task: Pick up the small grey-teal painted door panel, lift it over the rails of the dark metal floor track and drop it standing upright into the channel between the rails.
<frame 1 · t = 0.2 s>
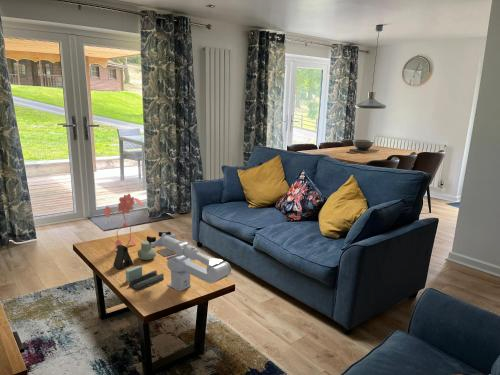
hand: (153, 236, 198), 21 cm above the table, tool horizontal, fingers open, 7 cm apart
door panel: (134, 279, 196), on the table
figurine: (128, 248, 235), on the table
phone stand: (123, 266, 211), on the table
floor track: (146, 282, 193), on the table
air freshener: (146, 258, 222), on the table
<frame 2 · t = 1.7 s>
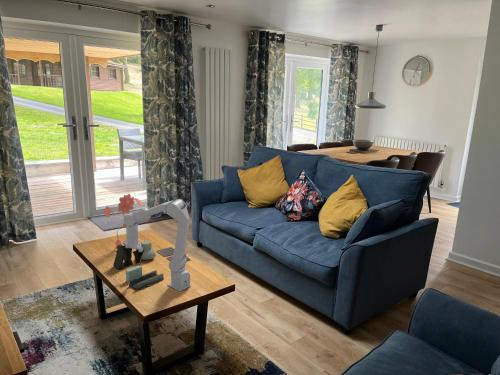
hand: (133, 261, 194), 10 cm above the table, tool pointing down, fingers open, 7 cm apart
nothing on the table moved.
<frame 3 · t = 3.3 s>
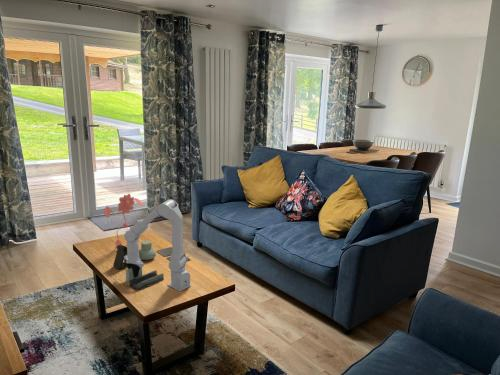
hand: (134, 275, 196), 2 cm above the table, tool pointing down, fingers closed on door panel, 2 cm apart
door panel: (134, 278, 196), on the table, touching gripper
everything else where it was.
when the fingers open (4 cm above the table, at t = 6.2 s): door panel stays where it is, resting on floor track.
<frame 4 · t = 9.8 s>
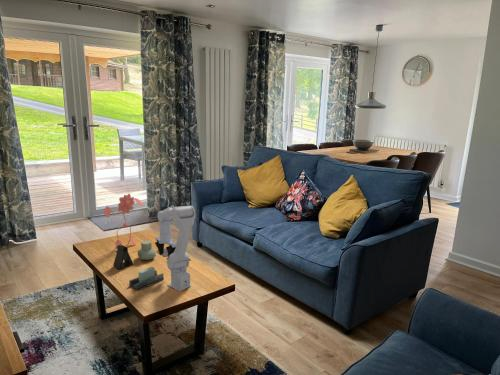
hand: (165, 256, 203), 9 cm above the table, tool pointing down, fingers open, 7 cm apart
door panel: (147, 280, 193), point 1 cm above the table, touching floor track
everything else where it was.
at the end: door panel inside the target area on the floor track (0.2 cm from its centre), point 1.0 cm above the floor track's base; door panel tilted 0°; the gripper is holding nothing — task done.
